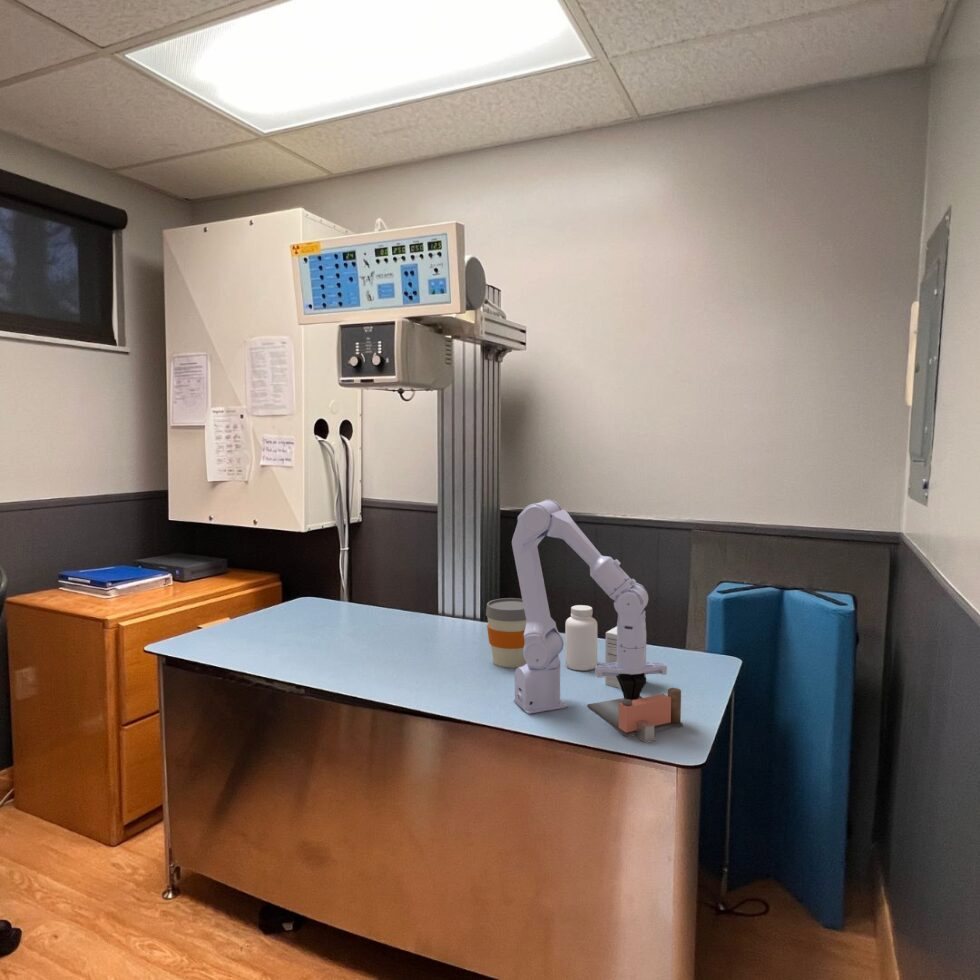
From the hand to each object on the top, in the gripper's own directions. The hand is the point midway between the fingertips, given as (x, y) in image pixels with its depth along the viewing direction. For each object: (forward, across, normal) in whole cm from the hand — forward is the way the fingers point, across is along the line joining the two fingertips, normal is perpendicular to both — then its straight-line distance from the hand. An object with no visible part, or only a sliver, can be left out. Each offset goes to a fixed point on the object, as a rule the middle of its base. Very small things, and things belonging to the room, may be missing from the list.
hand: (630, 708), depth 142 cm
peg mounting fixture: (+2, -1, -1) cm, 3 cm away
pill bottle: (+2, +2, -32) cm, 32 cm away
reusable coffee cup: (+2, +20, -38) cm, 42 cm away
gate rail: (+1, -1, +6) cm, 6 cm away
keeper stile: (+2, 0, +9) cm, 10 cm away
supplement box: (+2, -5, -19) cm, 20 cm away
